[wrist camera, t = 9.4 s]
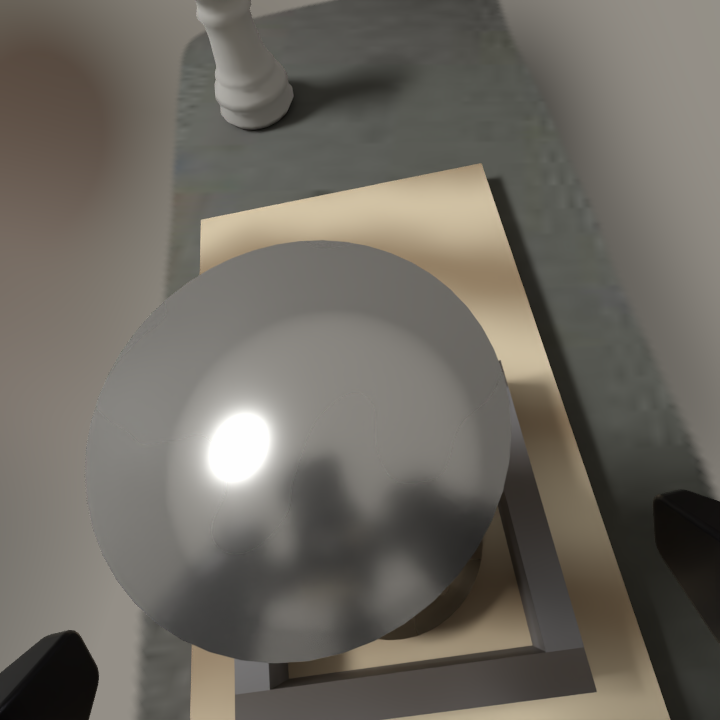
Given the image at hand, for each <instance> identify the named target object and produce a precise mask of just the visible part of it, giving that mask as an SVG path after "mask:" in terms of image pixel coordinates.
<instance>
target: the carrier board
mask: <svg viewBox="0 0 720 720" xmlns="http://www.w3.org/2000/svg"><path fill="white" fill-rule="evenodd" d="M316 240H326V241H341V242H349V243H355V244H360V245H365V246H370V247H373V248H376V249H380V250H383V251H386V252H389V253H392V254H394V255H396V256H399V257H401V258H403V259H405V260H408V261H410V262H412V263H414V264H415V265H417V266H419V267H420V268H422V269H424V270H425V271H427V272H429V273H430V274H432V275H433V276H434V277H436V278H437V279H438V280H439V281H441V282H442V283H443V284H444V285H446V286H447V287H448V288H449V289H451V290H452V291H453V292H454V294H455V295H456V296H457V297H458V298H459V299H460V300H461V301H462V302H463V303H464V304H465V305H466V306H467V307H468V308H469V310H470V311H471V312H472V314H473V315H474V317H475V318H476V319H477V321H478V322H479V323H480V325H481V326H482V328H483V330H484V331H485V333H486V335H487V337H488V339H489V341H490V343H491V344H492V346H493V348H494V350H495V353H496V355H497V358H498V361H499V364H500V366H501V369H502V372H503V374H504V379H505V383H506V388H507V393H508V397H509V402H510V416H511V430H512V431H511V445H510V460H509V465H508V469H507V474H506V479H505V484H504V488H503V492H502V495H501V497H500V500H499V503H498V506H497V508H496V511H495V514H494V517H493V519H492V522H491V524H490V525H489V527H488V529H487V531H486V533H485V535H484V537H483V548H482V558H481V563H480V567H479V572H478V574H477V577H476V580H475V583H474V585H473V587H472V589H471V591H470V592H469V594H468V596H467V598H466V599H465V600H464V602H463V603H462V605H461V606H460V607H459V608H458V609H457V610H456V611H455V612H454V614H453V615H452V616H451V617H449V618H448V619H447V620H446V621H444V622H443V623H442V624H440V625H439V626H437V627H435V628H434V629H432V630H430V631H428V632H426V633H423V634H421V635H418V636H416V637H411V638H407V639H401V640H380V639H377V640H375V641H373V642H371V643H368V644H365V645H363V646H360V647H358V648H355V649H353V650H350V651H347V652H345V653H342V654H338V655H334V656H329V657H325V658H320V659H316V660H311V661H304V662H289V663H264V662H253V661H242V660H238V659H234V658H230V657H226V656H222V655H219V654H215V653H211V652H208V651H206V650H204V649H202V648H199V647H197V646H195V645H192V664H191V711H190V720H670V717H669V714H668V711H667V708H666V705H665V702H664V699H663V697H662V694H661V691H660V688H659V685H658V682H657V679H656V676H655V673H654V670H653V667H652V664H651V661H650V658H649V655H648V652H647V649H646V646H645V644H644V641H643V638H642V635H641V632H640V629H639V626H638V623H637V620H636V617H635V614H634V611H633V608H632V605H631V602H630V599H629V596H628V594H627V591H626V588H625V585H624V582H623V579H622V576H621V573H620V570H619V567H618V564H617V561H616V558H615V555H614V552H613V549H612V546H611V543H610V541H609V538H608V535H607V532H606V529H605V526H604V523H603V520H602V517H601V514H600V511H599V508H598V505H597V502H596V499H595V496H594V493H593V491H592V488H591V485H590V482H589V479H588V476H587V473H586V470H585V467H584V464H583V461H582V458H581V455H580V452H579V449H578V446H577V443H576V440H575V438H574V435H573V432H572V429H571V426H570V423H569V420H568V417H567V414H566V411H565V408H564V405H563V402H562V399H561V396H560V393H559V390H558V388H557V385H556V382H555V379H554V376H553V373H552V370H551V367H550V364H549V361H548V358H547V355H546V352H545V349H544V346H543V343H542V340H541V337H540V335H539V332H538V329H537V326H536V323H535V320H534V317H533V314H532V311H531V308H530V305H529V302H528V299H527V296H526V293H525V290H524V287H523V285H522V282H521V279H520V276H519V273H518V270H517V267H516V264H515V261H514V258H513V255H512V252H511V249H510V246H509V243H508V240H507V237H506V234H505V232H504V229H503V226H502V223H501V220H500V217H499V214H498V211H497V208H496V205H495V202H494V199H493V196H492V193H491V190H490V187H489V184H488V181H487V179H486V176H485V173H484V170H483V167H482V164H481V163H480V164H475V165H470V166H465V167H461V168H456V169H451V170H446V171H441V172H436V173H431V174H426V175H421V176H416V177H411V178H406V179H401V180H396V181H391V182H386V183H381V184H376V185H371V186H366V187H361V188H356V189H351V190H346V191H342V192H337V193H332V194H327V195H322V196H317V197H312V198H307V199H302V200H297V201H292V202H287V203H282V204H277V205H272V206H267V207H262V208H257V209H252V210H247V211H242V212H237V213H232V214H228V215H223V216H218V217H213V218H208V219H203V220H201V246H200V275H201V274H202V273H204V272H206V271H207V270H209V269H211V268H213V267H215V266H217V265H219V264H221V263H223V262H225V261H227V260H229V259H231V258H234V257H237V256H239V255H242V254H245V253H248V252H250V251H253V250H257V249H261V248H265V247H269V246H273V245H276V244H283V243H290V242H297V241H316Z"/></svg>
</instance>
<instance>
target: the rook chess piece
mask: <svg viewBox="0 0 720 720" xmlns="http://www.w3.org/2000/svg"><path fill="white" fill-rule="evenodd" d="M195 2H196V4H197V19H198V20H199V21H200V22H201V23H202V24H204V26H205V29H206V31H207V34H208V36H209V39H210V43H211V47H212V50H213V54H214V58H215V61H216V70H215V78H216V82H215V95H216V100H217V101H218V103H219V104H220V105H221V114H222V116H223V117H224V118H225V119H226V121H227V122H229V123H231V124H233V125H235V126H237V127H239V128H242V129H247V130H257V129H261V128H266V127H269V126H270V125H272V124H274V123H276V122H278V121H279V120H280V119H281V118H282V117H283V116H284V115H285V114H286V113H287V111H288V109H289V106H290V104H291V101H292V99H293V97H294V96H293V89H292V86H291V85H290V84H289V83H288V76H287V72H286V70H285V69H284V67H283V66H282V65H281V64H280V63H279V62H278V61H277V60H275V58H274V56H273V55H272V54H271V53H270V52H269V51H268V50H267V49H266V47H265V46H264V44H263V41H262V39H261V37H260V35H259V33H258V30H257V28H256V26H255V24H254V22H253V19H252V15H251V12H250V6H251V0H195Z"/></svg>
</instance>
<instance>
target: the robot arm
mask: <svg viewBox="0 0 720 720" xmlns="http://www.w3.org/2000/svg"><path fill="white" fill-rule="evenodd" d="M653 516H654V531H655V542H656V546H657V549H658V551H659V553H660V555H661V557H662V558H663V560H664V562H665V563H666V565H667V566H668V568H669V569H670V571H671V572H672V574H673V575H674V577H675V578H676V580H677V581H678V583H679V584H680V586H681V587H682V589H683V590H684V592H685V593H686V595H687V596H688V598H689V599H690V601H691V602H692V604H693V605H694V607H695V608H696V610H697V611H698V613H699V614H700V616H701V617H702V619H703V620H704V622H705V623H706V625H707V626H708V628H709V629H710V631H711V632H712V634H713V635H714V637H715V638H716V640H717V641H718V643H719V644H720V501H717V500H714V499H711V498H708V497H705V496H702V495H699V494H696V493H694V492H691V491H687V490H675V491H671V492H666V493H662V494H658V495H657V496H656V497H655V498H654V500H653ZM98 680H99V672H98V668H97V665H96V663H95V662H94V660H93V658H92V656H91V654H90V652H89V650H88V649H87V647H86V645H85V643H84V641H83V640H82V638H81V636H80V635H79V633H77V632H76V631H73V630H68V631H63V632H59V633H55V634H51V635H48V636H46V637H44V638H43V639H41V640H40V641H39V642H38V643H36V644H35V645H34V646H33V647H31V648H30V649H29V650H28V651H26V652H25V653H24V654H23V655H22V656H20V657H19V658H18V659H17V660H16V661H14V662H13V663H12V664H11V665H9V666H8V667H7V668H6V669H5V670H4V671H2V672H1V673H0V720H89V716H90V713H91V709H92V705H93V702H94V698H95V694H96V691H97V686H98Z"/></svg>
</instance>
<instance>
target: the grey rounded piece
mask: <svg viewBox="0 0 720 720" xmlns="http://www.w3.org/2000/svg"><path fill="white" fill-rule="evenodd" d="M511 431H512V430H511V416H510V402H509V397H508V393H507V388H506V383H505V379H504V374H503V372H502V369H501V366H500V364H499V361H498V358H497V355H496V353H495V350H494V348H493V346H492V344H491V343H490V341H489V339H488V337H487V335H486V333H485V331H484V330H483V328H482V326H481V325H480V323H479V322H478V321H477V319H476V318H475V317H474V315H473V314H472V312H471V311H470V310H469V308H468V307H467V306H466V305H465V304H464V303H463V302H462V301H461V300H460V299H459V298H458V297H457V296H456V295H455V294H454V292H453V291H452V290H451V289H449V288H448V287H447V286H446V285H444V284H443V283H442V282H441V281H439V280H438V279H437V278H436V277H434V276H433V275H432V274H430V273H429V272H427V271H425V270H424V269H422V268H420V267H419V266H417V265H415V264H414V263H412V262H410V261H408V260H405V259H403V258H401V257H399V256H396V255H394V254H392V253H389V252H386V251H383V250H380V249H376V248H373V247H370V246H365V245H360V244H355V243H349V242H341V241H326V240H316V241H297V242H290V243H283V244H276V245H273V246H269V247H265V248H261V249H257V250H253V251H250V252H248V253H245V254H242V255H239V256H237V257H234V258H231V259H229V260H227V261H225V262H223V263H221V264H219V265H217V266H215V267H213V268H211V269H209V270H207V271H206V272H204V273H202V274H201V275H199V276H197V277H196V278H194V279H193V280H191V281H189V282H188V283H187V284H185V285H184V286H183V287H181V288H180V289H179V290H177V291H176V292H175V293H174V294H172V295H171V296H170V297H169V298H168V299H166V300H165V301H164V302H163V303H162V304H161V305H160V306H159V307H158V308H157V309H156V310H155V311H154V312H152V314H151V315H150V316H149V317H148V318H147V319H146V321H144V323H143V324H142V325H141V326H140V327H139V328H138V330H137V331H136V332H135V333H134V335H133V336H132V337H131V339H130V340H129V342H128V343H127V344H126V346H125V347H124V349H123V350H122V351H121V353H120V355H119V357H118V358H117V360H116V362H115V364H114V365H113V367H112V369H111V371H110V373H109V374H108V377H107V379H106V381H105V384H104V386H103V388H102V391H101V393H100V395H99V398H98V401H97V404H96V408H95V411H94V414H93V417H92V421H91V425H90V431H89V436H88V442H87V448H86V465H85V481H86V482H85V483H86V494H87V504H88V509H89V514H90V518H91V522H92V527H93V531H94V533H95V536H96V539H97V541H98V544H99V547H100V549H101V552H102V555H103V557H104V559H105V560H106V562H107V564H108V566H109V567H110V569H111V571H112V573H113V575H114V576H115V578H116V580H117V581H118V583H119V584H120V585H121V586H122V588H123V589H124V590H125V592H126V593H127V594H128V595H129V597H130V598H131V599H132V600H133V602H134V603H135V604H136V605H137V606H138V607H139V608H141V609H142V610H143V611H144V612H145V613H146V614H147V615H148V616H149V617H150V618H151V619H152V620H154V621H155V622H156V623H157V624H159V625H160V626H162V627H163V628H165V629H166V630H168V631H169V632H171V633H172V634H174V635H175V636H177V637H178V638H180V639H181V640H183V641H186V642H188V643H190V644H192V645H195V646H197V647H199V648H202V649H204V650H206V651H208V652H211V653H215V654H219V655H222V656H226V657H230V658H234V659H238V660H242V661H253V662H264V663H289V662H304V661H311V660H316V659H320V658H325V657H329V656H334V655H338V654H342V653H345V652H347V651H350V650H353V649H355V648H358V647H360V646H363V645H365V644H368V643H371V642H373V641H375V640H377V639H380V640H401V639H407V638H411V637H416V636H418V635H421V634H423V633H426V632H428V631H430V630H432V629H434V628H435V627H437V626H439V625H440V624H442V623H443V622H444V621H446V620H447V619H448V618H449V617H451V616H452V615H453V614H454V612H455V611H456V610H457V609H458V608H459V607H460V606H461V605H462V603H463V602H464V600H465V599H466V598H467V596H468V594H469V592H470V591H471V589H472V587H473V585H474V583H475V580H476V577H477V574H478V572H479V567H480V563H481V558H482V548H483V537H484V535H485V533H486V531H487V529H488V527H489V525H490V524H491V522H492V519H493V517H494V514H495V511H496V508H497V506H498V503H499V500H500V497H501V495H502V492H503V488H504V484H505V479H506V474H507V469H508V465H509V460H510V445H511Z"/></svg>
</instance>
